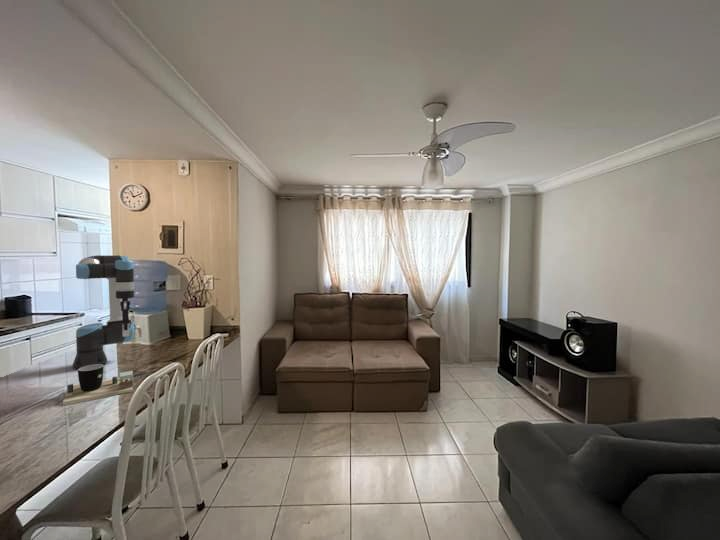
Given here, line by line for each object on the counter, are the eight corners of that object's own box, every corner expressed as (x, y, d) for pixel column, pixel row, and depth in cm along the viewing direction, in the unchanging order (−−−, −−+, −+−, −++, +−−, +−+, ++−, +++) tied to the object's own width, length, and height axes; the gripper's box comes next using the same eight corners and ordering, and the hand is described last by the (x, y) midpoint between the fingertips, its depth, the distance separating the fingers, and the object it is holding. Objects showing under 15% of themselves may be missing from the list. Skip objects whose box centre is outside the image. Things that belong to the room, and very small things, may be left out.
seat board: (70, 389, 148) (70, 379, 148) (132, 378, 162) (132, 369, 162) (62, 405, 132) (62, 395, 131) (132, 391, 146) (132, 382, 146)
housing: (120, 383, 151) (119, 372, 151) (132, 381, 154) (132, 370, 154) (119, 387, 146) (119, 376, 146) (132, 385, 149) (132, 374, 149)
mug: (99, 391, 142) (99, 369, 142) (74, 394, 139) (74, 371, 138) (109, 381, 153) (108, 361, 153) (86, 384, 150) (85, 363, 149)
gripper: (116, 289, 162) (117, 334, 163) (115, 291, 151) (116, 340, 152) (134, 288, 166) (135, 332, 167) (134, 291, 156) (135, 337, 156)
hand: (126, 336), depth 160 cm, fingers closed
